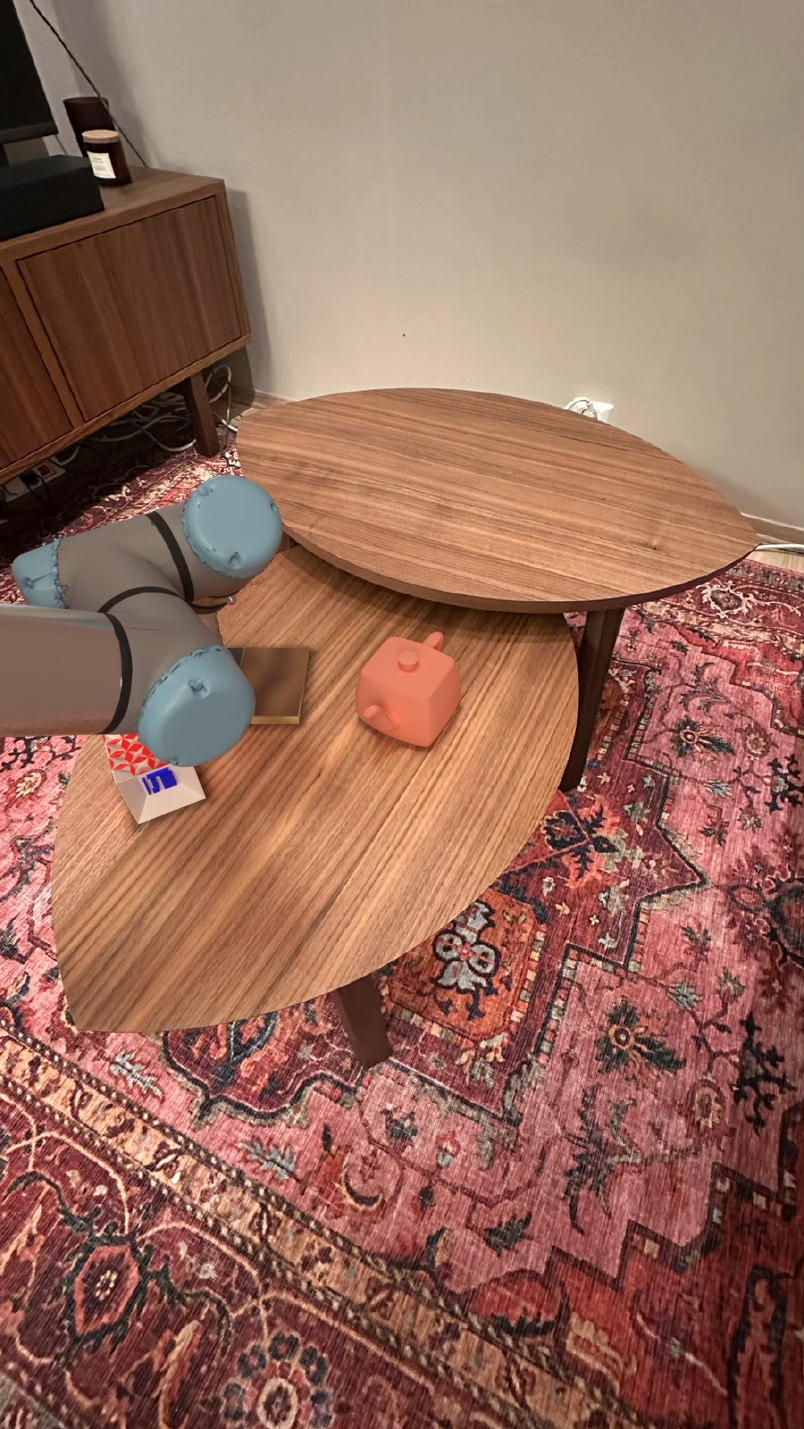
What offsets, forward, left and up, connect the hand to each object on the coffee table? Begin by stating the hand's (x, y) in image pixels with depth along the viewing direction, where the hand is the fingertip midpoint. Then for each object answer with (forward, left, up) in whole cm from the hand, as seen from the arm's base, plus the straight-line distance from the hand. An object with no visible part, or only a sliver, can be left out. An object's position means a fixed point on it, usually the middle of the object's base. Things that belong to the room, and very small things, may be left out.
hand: (172, 614), depth 85 cm
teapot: (+21, -22, -11) cm, 32 cm away
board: (+4, -6, -10) cm, 13 cm away
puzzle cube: (-9, -17, -11) cm, 22 cm away
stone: (+1, -3, -4) cm, 5 cm away
